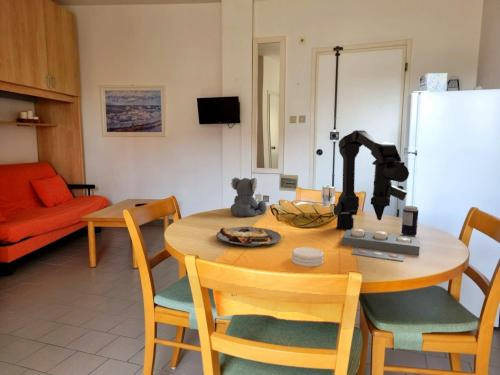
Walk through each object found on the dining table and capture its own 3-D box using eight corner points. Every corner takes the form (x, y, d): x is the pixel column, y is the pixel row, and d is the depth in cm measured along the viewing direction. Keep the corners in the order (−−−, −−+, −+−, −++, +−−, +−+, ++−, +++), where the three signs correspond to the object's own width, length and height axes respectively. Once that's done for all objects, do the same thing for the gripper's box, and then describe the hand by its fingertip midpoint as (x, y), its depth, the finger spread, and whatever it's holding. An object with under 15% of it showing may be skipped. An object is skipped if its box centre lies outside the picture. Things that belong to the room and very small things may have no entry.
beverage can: (417, 237, 140) (420, 208, 139) (402, 236, 141) (405, 207, 140) (414, 234, 146) (416, 206, 144) (399, 233, 147) (402, 205, 145)
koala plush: (268, 213, 183) (269, 176, 181) (251, 219, 168) (252, 179, 165) (240, 209, 192) (240, 174, 189) (221, 215, 177) (222, 177, 174)
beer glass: (318, 214, 182) (320, 186, 180) (331, 214, 183) (333, 186, 180) (322, 217, 175) (324, 187, 173) (336, 217, 176) (337, 187, 174)
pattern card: (351, 254, 119) (351, 253, 119) (354, 248, 125) (354, 247, 125) (402, 261, 112) (402, 260, 112) (402, 255, 119) (403, 254, 119)
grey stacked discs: (329, 263, 110) (330, 253, 110) (307, 270, 104) (307, 258, 104) (307, 254, 118) (307, 244, 118) (285, 260, 112) (285, 249, 112)
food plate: (218, 249, 121) (218, 239, 121) (214, 232, 144) (214, 224, 144) (287, 249, 125) (287, 239, 125) (273, 232, 148) (273, 224, 148)
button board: (341, 244, 129) (341, 237, 129) (346, 236, 140) (346, 229, 140) (418, 255, 119) (419, 246, 118) (417, 245, 130) (418, 237, 129)
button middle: (373, 241, 128) (373, 233, 128) (374, 238, 132) (374, 230, 132) (386, 242, 126) (386, 234, 126) (386, 239, 130) (387, 232, 130)
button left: (351, 238, 131) (351, 230, 131) (352, 235, 135) (353, 228, 135) (363, 240, 130) (363, 232, 129) (364, 237, 134) (364, 229, 133)
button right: (396, 248, 125) (397, 239, 125) (396, 244, 129) (397, 236, 129) (409, 249, 123) (410, 241, 123) (409, 246, 127) (410, 238, 127)
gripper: (407, 183, 115) (403, 228, 117) (406, 176, 132) (402, 216, 134) (372, 180, 119) (368, 225, 121) (375, 175, 136) (372, 213, 139)
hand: (379, 219), depth 129 cm, fingers closed
